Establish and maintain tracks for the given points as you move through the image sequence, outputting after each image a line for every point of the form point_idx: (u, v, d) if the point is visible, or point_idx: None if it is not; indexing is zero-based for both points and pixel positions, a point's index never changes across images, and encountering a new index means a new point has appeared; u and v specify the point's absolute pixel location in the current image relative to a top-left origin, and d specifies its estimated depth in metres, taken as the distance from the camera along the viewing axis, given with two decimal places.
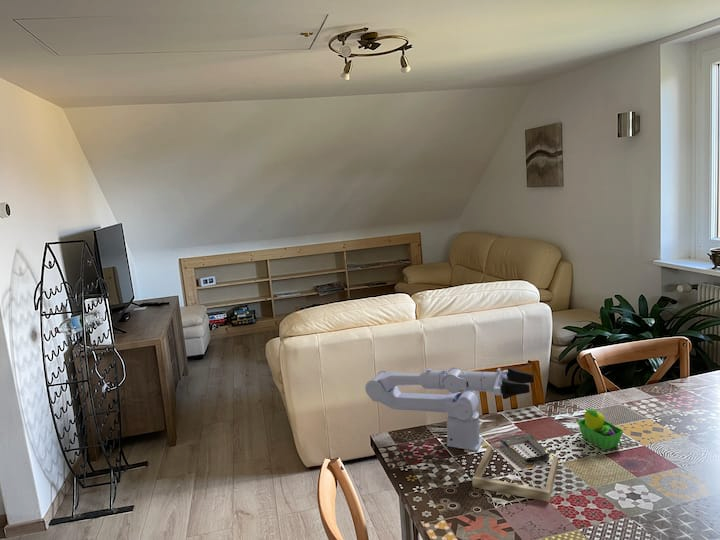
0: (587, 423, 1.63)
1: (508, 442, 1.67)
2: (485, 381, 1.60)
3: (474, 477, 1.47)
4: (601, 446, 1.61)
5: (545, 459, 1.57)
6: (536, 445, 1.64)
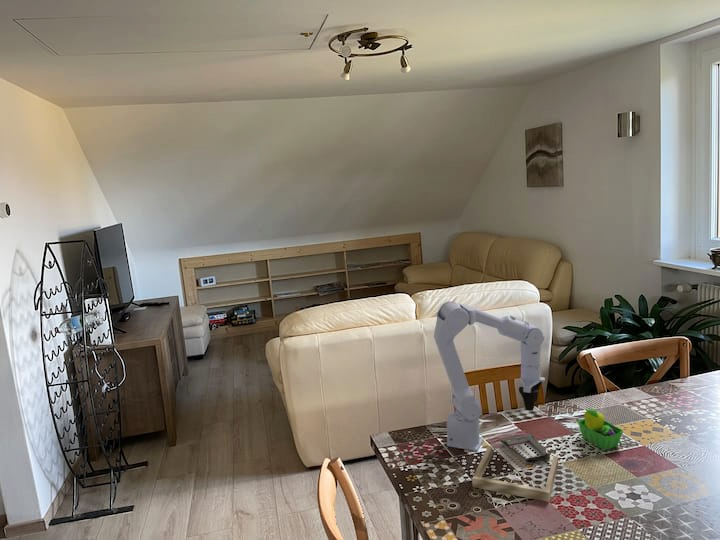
0: (587, 423, 1.63)
1: (509, 442, 1.67)
2: (533, 370, 1.66)
3: (474, 477, 1.47)
4: (601, 446, 1.61)
5: (546, 459, 1.57)
6: (537, 445, 1.64)
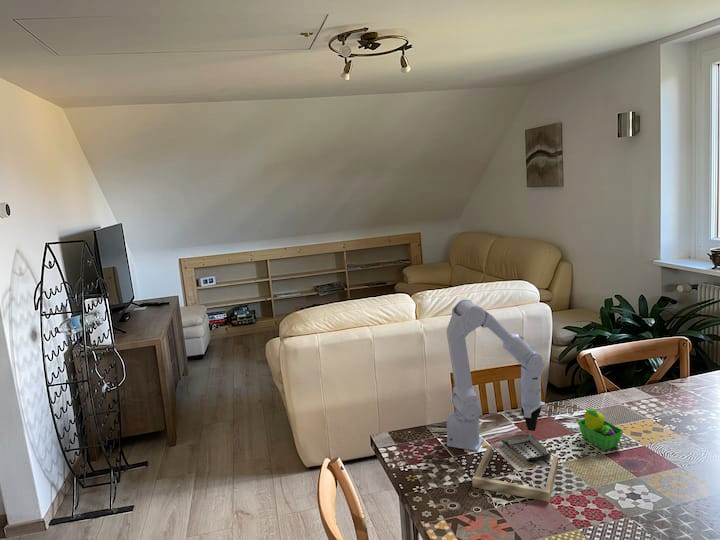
0: (587, 423, 1.63)
1: (509, 442, 1.67)
2: (533, 395, 1.67)
3: (474, 477, 1.47)
4: (601, 446, 1.61)
5: (546, 459, 1.57)
6: (537, 445, 1.64)
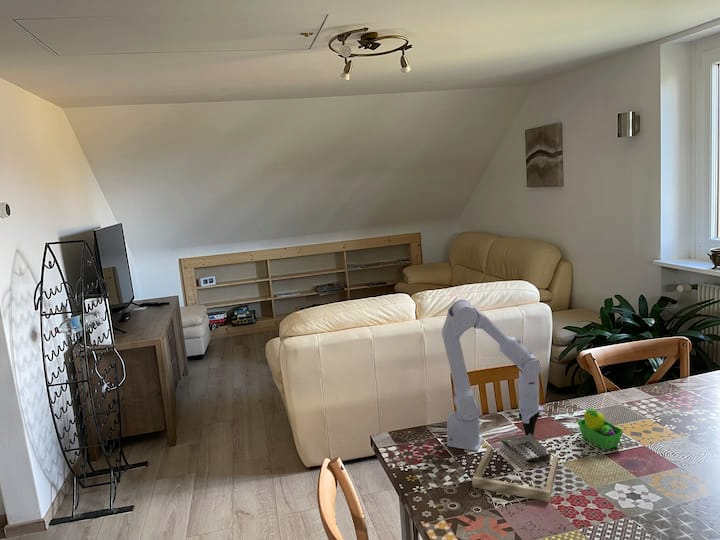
0: (587, 423, 1.63)
1: (509, 442, 1.67)
2: (531, 400, 1.64)
3: (474, 477, 1.47)
4: (601, 446, 1.61)
5: (546, 459, 1.56)
6: (537, 445, 1.63)
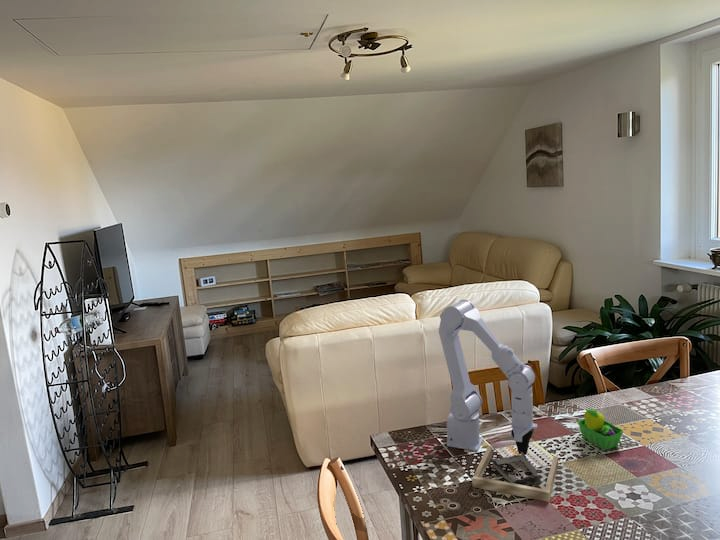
0: (587, 423, 1.63)
1: (499, 461, 1.57)
2: (524, 417, 1.54)
3: (474, 477, 1.47)
4: (601, 446, 1.61)
5: (536, 482, 1.46)
6: (528, 466, 1.53)
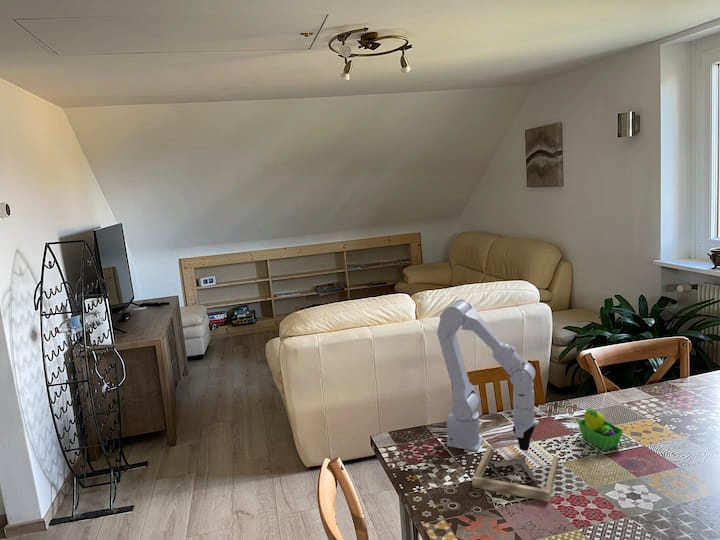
0: (587, 423, 1.63)
1: (498, 464, 1.56)
2: (526, 413, 1.56)
3: (474, 477, 1.47)
4: (601, 446, 1.61)
5: (533, 486, 1.45)
6: (527, 469, 1.52)
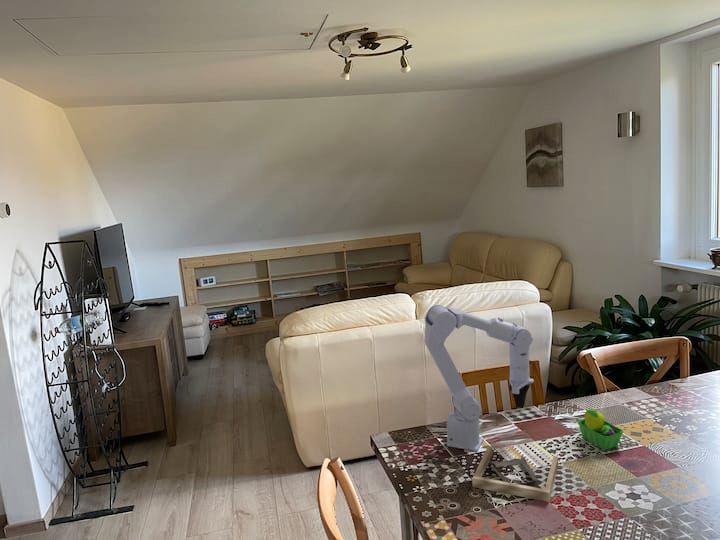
0: (587, 423, 1.63)
1: (499, 464, 1.56)
2: (521, 372, 1.65)
3: (474, 477, 1.47)
4: (601, 446, 1.61)
5: (534, 486, 1.44)
6: (528, 469, 1.52)
